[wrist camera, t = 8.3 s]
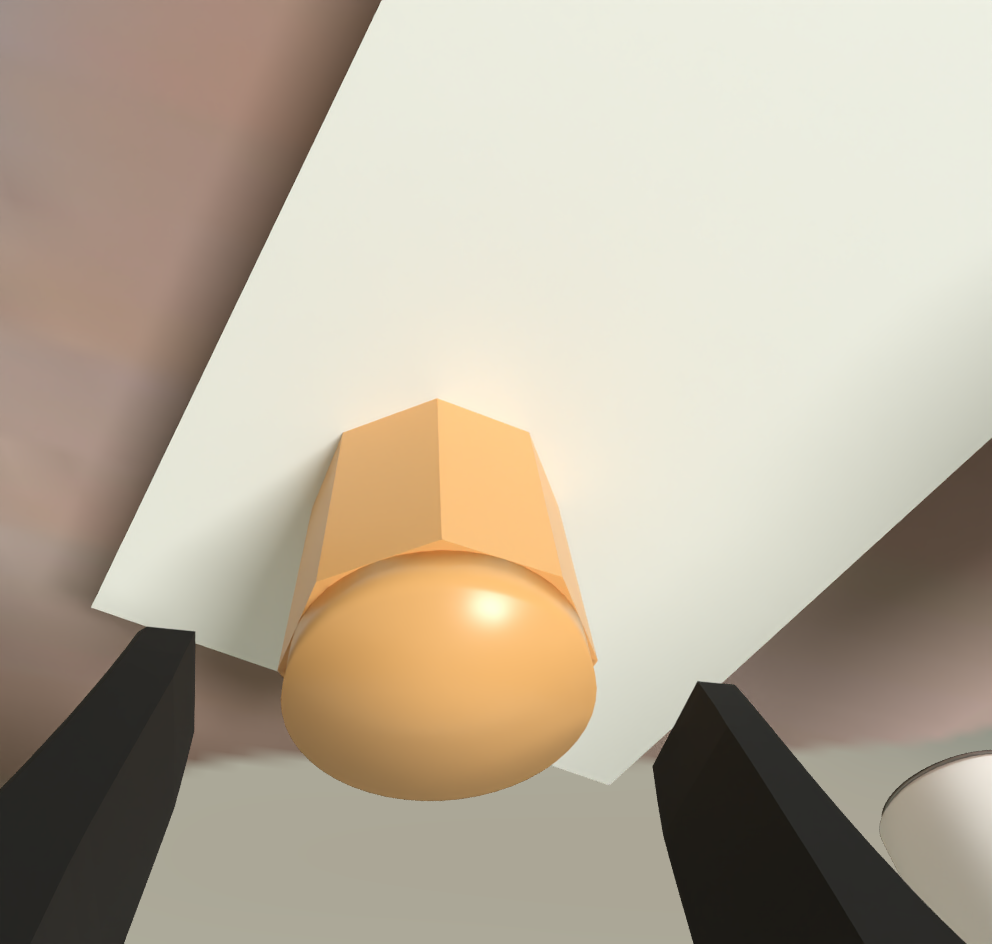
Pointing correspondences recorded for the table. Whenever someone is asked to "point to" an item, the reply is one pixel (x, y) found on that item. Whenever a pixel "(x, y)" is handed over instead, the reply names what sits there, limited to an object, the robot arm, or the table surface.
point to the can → (946, 841)
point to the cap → (436, 613)
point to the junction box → (613, 314)
